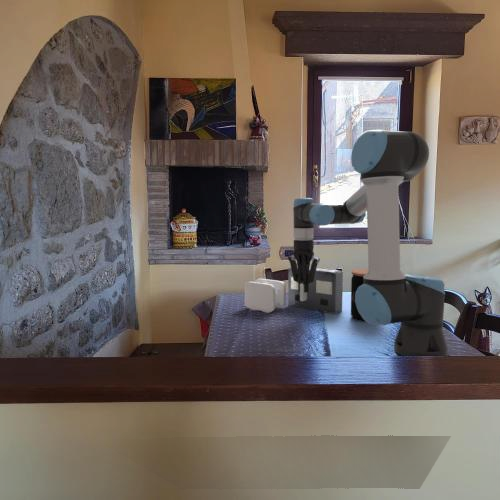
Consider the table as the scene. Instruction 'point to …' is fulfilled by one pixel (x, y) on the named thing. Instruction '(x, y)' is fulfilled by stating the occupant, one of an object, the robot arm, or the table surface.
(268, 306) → the cable organizer
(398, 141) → the robot arm
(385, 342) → the table surface
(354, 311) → the coffee jar
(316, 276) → the box
